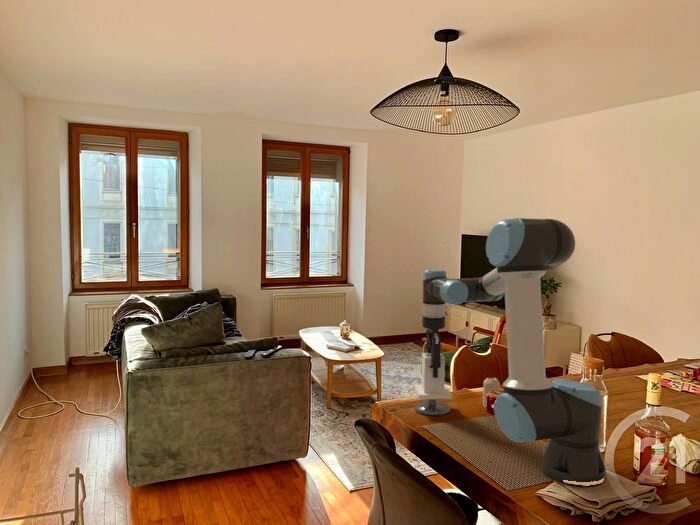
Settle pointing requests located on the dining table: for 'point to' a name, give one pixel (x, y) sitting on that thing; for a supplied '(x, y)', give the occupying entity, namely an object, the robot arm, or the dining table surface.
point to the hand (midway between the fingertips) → (432, 383)
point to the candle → (489, 388)
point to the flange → (424, 389)
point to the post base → (432, 408)
